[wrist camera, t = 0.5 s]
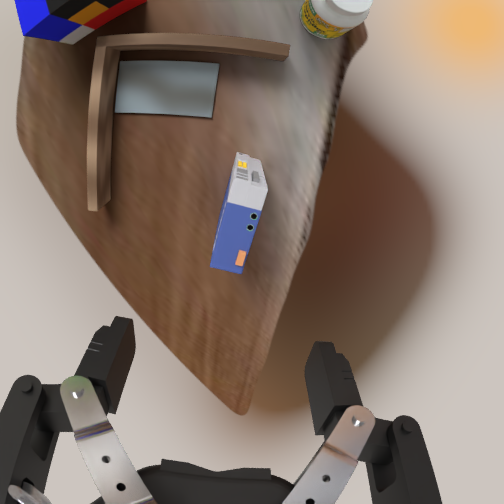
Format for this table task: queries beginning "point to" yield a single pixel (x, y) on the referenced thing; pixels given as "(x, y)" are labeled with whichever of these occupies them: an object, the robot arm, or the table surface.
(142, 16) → the table surface
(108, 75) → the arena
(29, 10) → the puzzle toy
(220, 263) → the walkman
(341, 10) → the supplement bottle
